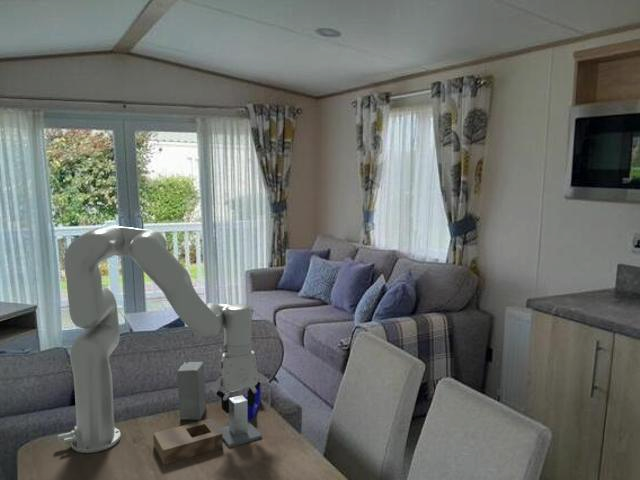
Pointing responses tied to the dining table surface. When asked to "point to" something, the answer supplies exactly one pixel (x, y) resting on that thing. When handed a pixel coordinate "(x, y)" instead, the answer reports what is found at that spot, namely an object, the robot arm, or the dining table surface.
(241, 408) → the steel bar
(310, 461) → the dining table surface
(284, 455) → the dining table surface
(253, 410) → the cable clip
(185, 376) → the skincare box
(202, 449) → the wooden block with hole
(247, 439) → the rubber mat
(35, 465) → the dining table surface
